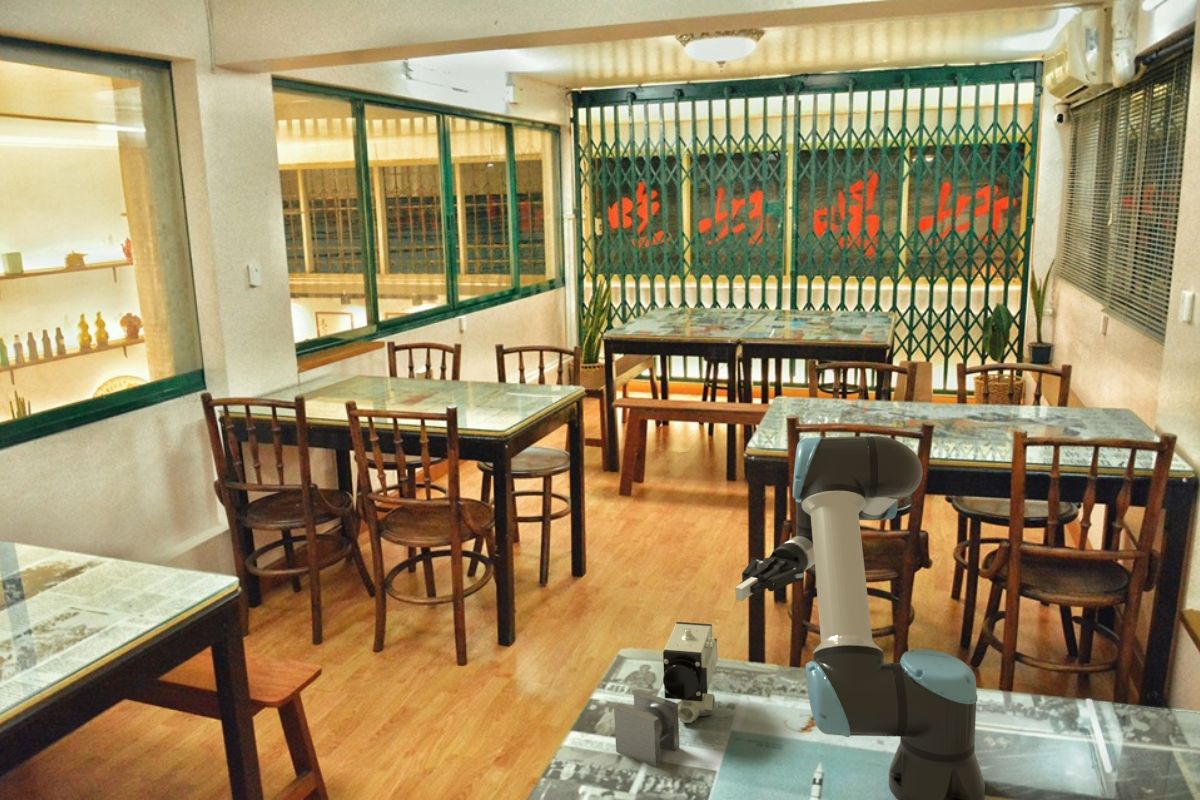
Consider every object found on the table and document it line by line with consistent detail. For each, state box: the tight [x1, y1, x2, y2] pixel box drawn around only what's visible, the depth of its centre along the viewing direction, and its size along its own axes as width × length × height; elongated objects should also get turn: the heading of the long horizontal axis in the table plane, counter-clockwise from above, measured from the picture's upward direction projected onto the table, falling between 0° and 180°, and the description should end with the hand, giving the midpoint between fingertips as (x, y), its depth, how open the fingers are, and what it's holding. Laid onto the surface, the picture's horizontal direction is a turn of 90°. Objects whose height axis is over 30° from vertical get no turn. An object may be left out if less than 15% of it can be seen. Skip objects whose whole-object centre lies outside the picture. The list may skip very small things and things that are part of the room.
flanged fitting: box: [613, 689, 680, 768], centre depth 171 cm, size 9×8×9 cm
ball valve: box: [662, 621, 718, 724], centre depth 182 cm, size 18×8×18 cm, turn 165°
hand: (738, 594), depth 189 cm, fingers closed
